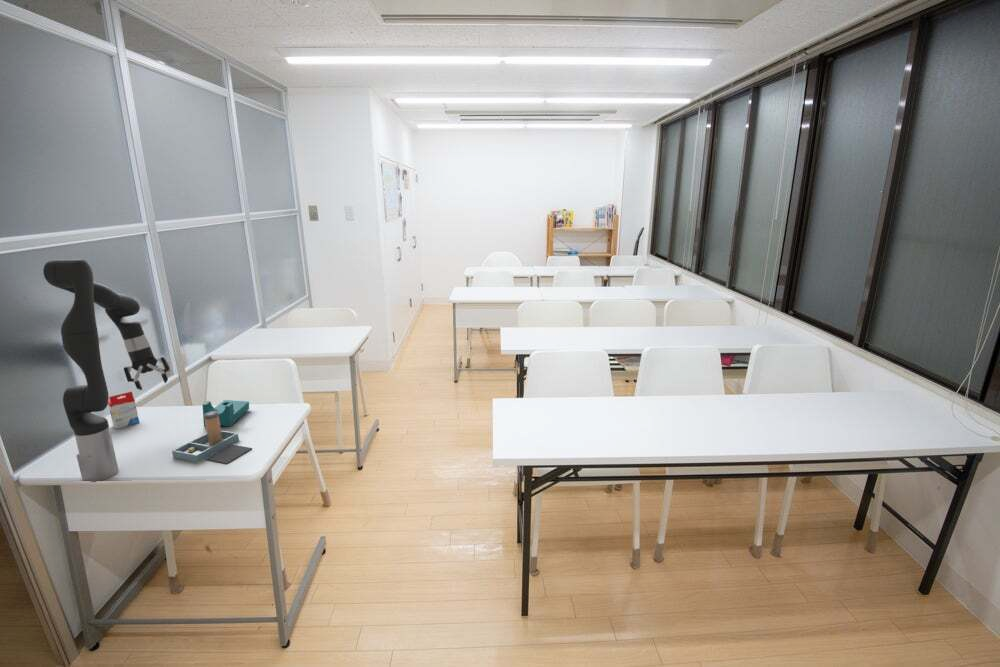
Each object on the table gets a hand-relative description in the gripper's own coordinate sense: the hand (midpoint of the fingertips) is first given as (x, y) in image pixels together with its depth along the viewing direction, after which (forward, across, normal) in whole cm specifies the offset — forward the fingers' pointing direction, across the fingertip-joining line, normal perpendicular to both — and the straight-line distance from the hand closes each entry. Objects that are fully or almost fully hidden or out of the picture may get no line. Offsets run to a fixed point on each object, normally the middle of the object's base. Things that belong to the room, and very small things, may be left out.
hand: (153, 385), depth 197 cm
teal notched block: (+25, +20, +6) cm, 32 cm away
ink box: (+17, -17, +22) cm, 32 cm away
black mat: (+28, +18, -31) cm, 46 cm away
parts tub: (+26, +11, -21) cm, 35 cm away
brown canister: (+26, +14, -19) cm, 35 cm away
